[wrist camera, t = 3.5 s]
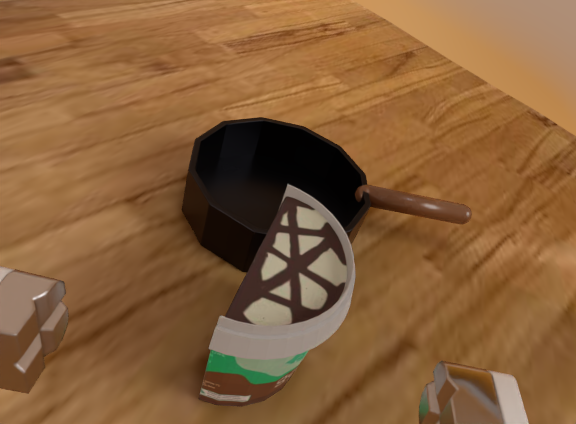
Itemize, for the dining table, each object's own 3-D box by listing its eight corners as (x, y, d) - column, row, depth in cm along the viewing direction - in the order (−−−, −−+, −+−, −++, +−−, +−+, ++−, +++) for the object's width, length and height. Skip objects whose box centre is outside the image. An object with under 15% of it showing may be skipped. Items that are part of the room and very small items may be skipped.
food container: (284, 463, 30) (338, 377, 24) (187, 420, 31) (214, 325, 24) (331, 308, 39) (379, 215, 33) (257, 276, 40) (290, 179, 33)
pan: (170, 260, 39) (177, 216, 36) (196, 143, 50) (203, 102, 47) (471, 309, 43) (500, 274, 40) (433, 192, 54) (454, 157, 51)
